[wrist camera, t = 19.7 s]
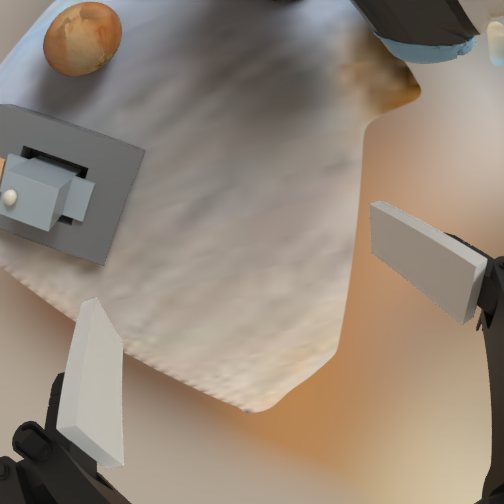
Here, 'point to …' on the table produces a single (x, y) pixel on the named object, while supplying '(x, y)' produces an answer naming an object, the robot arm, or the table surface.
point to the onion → (82, 38)
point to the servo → (43, 191)
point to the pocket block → (100, 172)
